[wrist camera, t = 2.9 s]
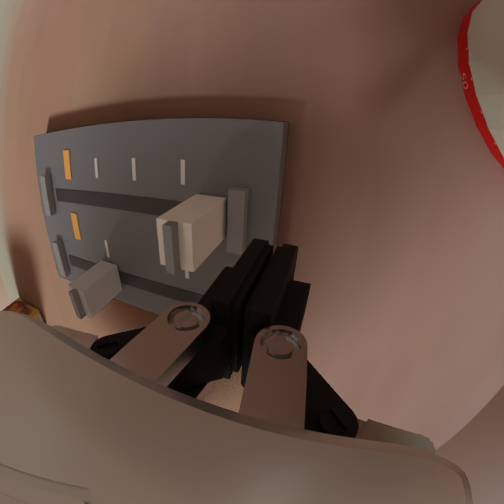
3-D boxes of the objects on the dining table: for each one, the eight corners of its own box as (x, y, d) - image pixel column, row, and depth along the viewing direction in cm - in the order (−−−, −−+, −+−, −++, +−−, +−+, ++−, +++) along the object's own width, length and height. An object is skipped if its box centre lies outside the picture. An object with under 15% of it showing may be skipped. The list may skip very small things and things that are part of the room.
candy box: (38, 307, 37) (-19, 359, 24) (47, 326, 39) (-5, 377, 26) (18, 295, 39) (-33, 338, 26) (26, 313, 41) (-22, 356, 28)
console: (266, 331, 23) (258, 350, 21) (68, 269, 28) (55, 279, 26) (288, 122, 15) (281, 122, 13) (45, 133, 21) (28, 137, 19)
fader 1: (122, 289, 23) (87, 322, 19) (107, 284, 24) (72, 314, 20) (117, 265, 22) (78, 296, 18) (101, 260, 23) (63, 289, 18)
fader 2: (225, 237, 18) (188, 278, 13) (197, 232, 18) (154, 269, 14) (226, 197, 17) (185, 229, 12) (196, 194, 17) (149, 222, 13)
